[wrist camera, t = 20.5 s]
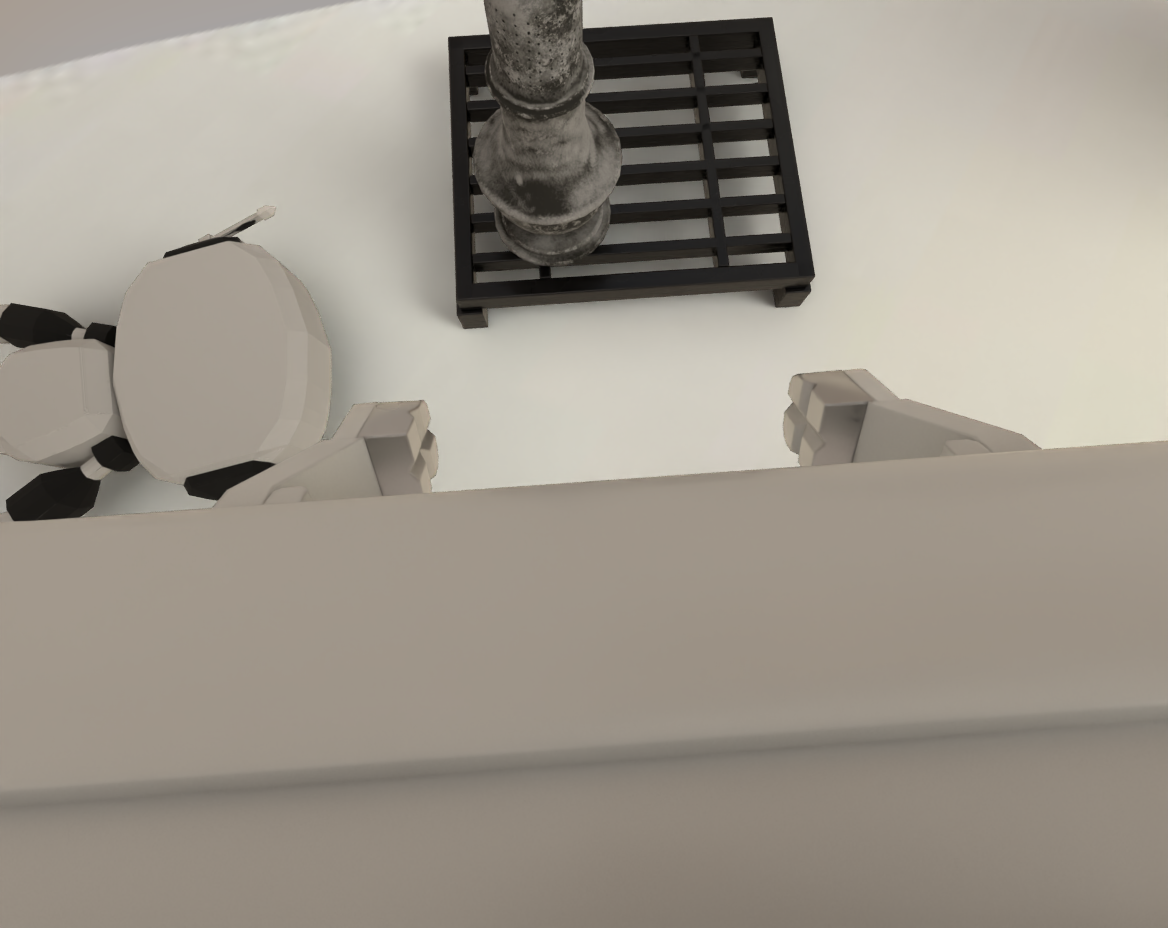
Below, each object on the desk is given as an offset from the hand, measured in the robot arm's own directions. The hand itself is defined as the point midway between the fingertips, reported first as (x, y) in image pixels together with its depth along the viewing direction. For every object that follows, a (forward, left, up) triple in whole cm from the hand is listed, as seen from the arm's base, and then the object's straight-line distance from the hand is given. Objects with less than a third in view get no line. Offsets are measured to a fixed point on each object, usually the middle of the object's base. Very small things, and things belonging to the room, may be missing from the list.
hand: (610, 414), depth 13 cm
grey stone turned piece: (+1, -13, -11) cm, 17 cm away
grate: (-2, -16, -13) cm, 21 cm away
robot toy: (+19, -6, -13) cm, 24 cm away
